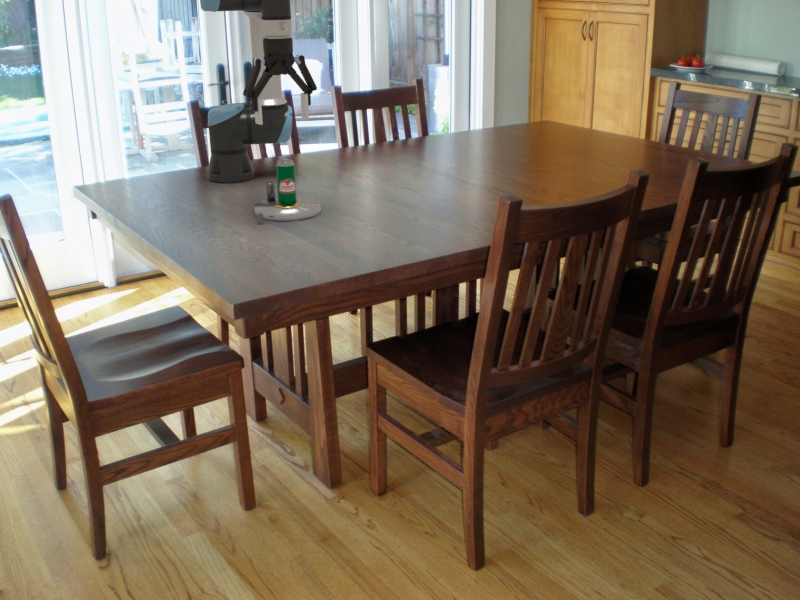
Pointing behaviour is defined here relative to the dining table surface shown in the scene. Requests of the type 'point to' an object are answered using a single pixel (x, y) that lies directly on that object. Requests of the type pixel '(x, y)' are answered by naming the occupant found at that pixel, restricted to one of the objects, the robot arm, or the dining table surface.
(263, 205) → the turntable
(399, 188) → the dining table surface
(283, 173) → the soda can
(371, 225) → the dining table surface
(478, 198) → the dining table surface
